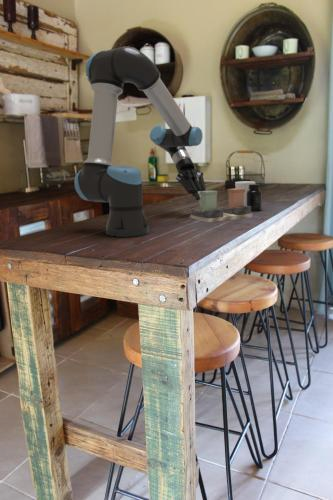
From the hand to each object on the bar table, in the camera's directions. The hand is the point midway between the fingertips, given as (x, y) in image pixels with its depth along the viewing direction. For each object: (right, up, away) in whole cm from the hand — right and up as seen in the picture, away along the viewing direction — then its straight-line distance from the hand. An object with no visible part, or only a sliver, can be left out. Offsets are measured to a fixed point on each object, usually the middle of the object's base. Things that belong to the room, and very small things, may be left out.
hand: (204, 205), depth 179 cm
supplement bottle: (+25, 0, +20) cm, 32 cm away
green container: (+2, -4, -2) cm, 5 cm away
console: (+7, -5, +3) cm, 9 cm away
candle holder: (+23, +3, +34) cm, 41 cm away
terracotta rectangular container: (+14, -2, +5) cm, 15 cm away
